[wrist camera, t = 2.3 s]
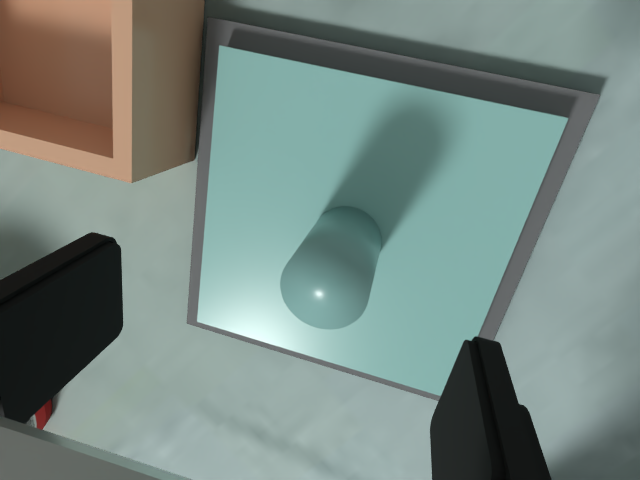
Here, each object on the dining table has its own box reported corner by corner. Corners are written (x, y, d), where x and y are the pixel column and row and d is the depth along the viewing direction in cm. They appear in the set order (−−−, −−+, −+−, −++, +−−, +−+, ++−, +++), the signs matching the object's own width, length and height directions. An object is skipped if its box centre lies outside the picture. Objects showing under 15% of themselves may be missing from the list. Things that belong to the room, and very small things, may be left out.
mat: (594, 94, 16) (600, 95, 16) (462, 400, 22) (463, 408, 22) (214, 18, 18) (207, 16, 18) (191, 318, 25) (186, 323, 24)
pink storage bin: (211, -110, 17) (133, -180, 12) (194, 160, 21) (131, 183, 16) (-23, -146, 18) (-173, -222, 13) (7, 113, 22) (-99, 122, 18)
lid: (561, 116, 16) (630, 135, 11) (450, 388, 22) (460, 488, 16) (227, 46, 18) (147, 34, 13) (203, 314, 24) (141, 382, 18)
